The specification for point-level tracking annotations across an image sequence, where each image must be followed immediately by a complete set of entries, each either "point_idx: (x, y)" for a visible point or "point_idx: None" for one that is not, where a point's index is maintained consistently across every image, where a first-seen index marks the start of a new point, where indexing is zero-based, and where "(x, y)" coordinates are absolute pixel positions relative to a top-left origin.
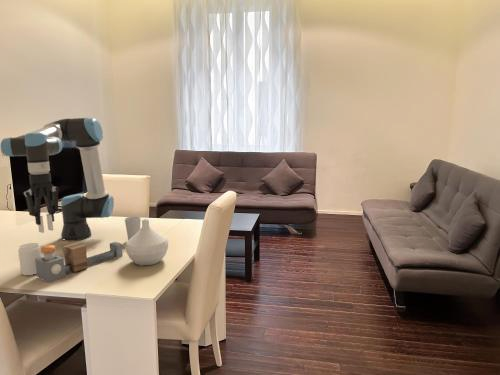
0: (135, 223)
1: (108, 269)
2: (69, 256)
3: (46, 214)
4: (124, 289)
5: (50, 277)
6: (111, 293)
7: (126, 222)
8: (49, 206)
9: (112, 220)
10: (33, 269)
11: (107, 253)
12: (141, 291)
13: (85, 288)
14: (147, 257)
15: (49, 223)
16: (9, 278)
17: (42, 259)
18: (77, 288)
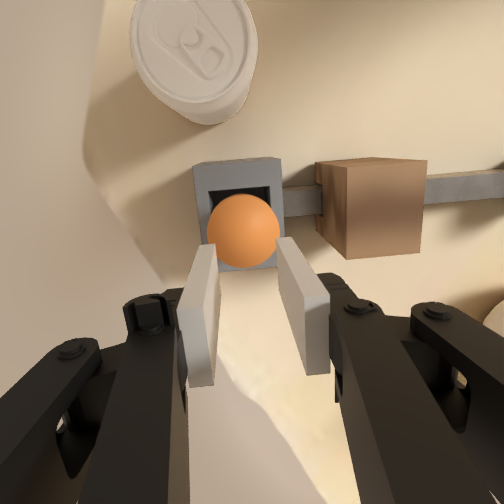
0: None
1: (402, 289)
2: (332, 215)
3: (302, 298)
4: (329, 447)
5: None
6: (294, 445)
7: None
8: (355, 474)
9: None
10: (198, 122)
11: (493, 197)
12: (345, 480)
13: (268, 374)
14: None
15: (286, 295)
16: (115, 65)
17: (219, 189)
18: (253, 358)
